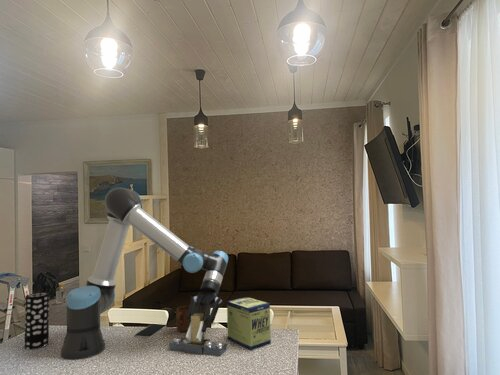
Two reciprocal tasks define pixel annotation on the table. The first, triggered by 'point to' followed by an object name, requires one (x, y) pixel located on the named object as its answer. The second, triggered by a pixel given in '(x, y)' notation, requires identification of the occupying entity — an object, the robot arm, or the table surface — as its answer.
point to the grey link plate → (198, 347)
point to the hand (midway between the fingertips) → (193, 339)
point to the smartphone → (150, 330)
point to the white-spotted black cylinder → (36, 320)
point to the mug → (182, 319)
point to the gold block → (196, 328)
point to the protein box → (248, 322)
